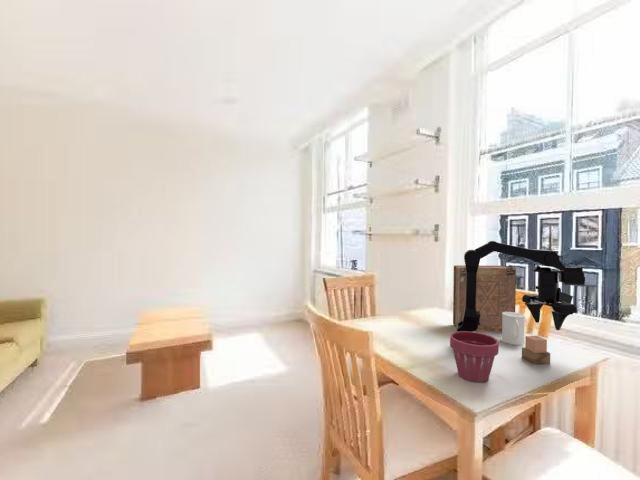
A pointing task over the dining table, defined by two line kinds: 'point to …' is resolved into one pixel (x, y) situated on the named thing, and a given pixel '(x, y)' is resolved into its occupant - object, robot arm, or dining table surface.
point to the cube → (536, 344)
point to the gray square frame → (532, 364)
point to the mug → (513, 328)
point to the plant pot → (474, 354)
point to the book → (486, 294)
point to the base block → (536, 357)
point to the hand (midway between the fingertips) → (547, 326)
